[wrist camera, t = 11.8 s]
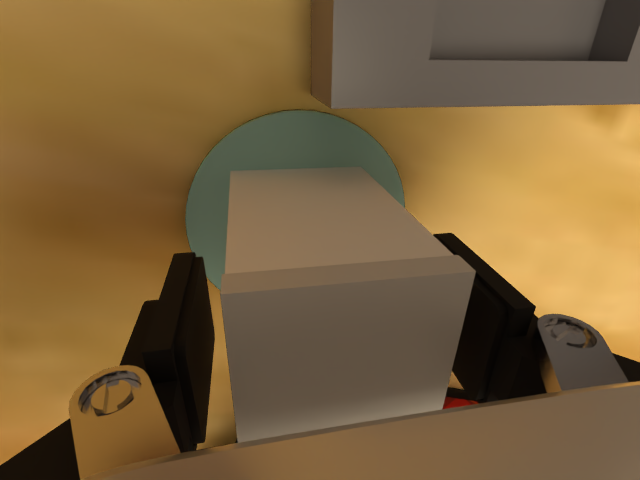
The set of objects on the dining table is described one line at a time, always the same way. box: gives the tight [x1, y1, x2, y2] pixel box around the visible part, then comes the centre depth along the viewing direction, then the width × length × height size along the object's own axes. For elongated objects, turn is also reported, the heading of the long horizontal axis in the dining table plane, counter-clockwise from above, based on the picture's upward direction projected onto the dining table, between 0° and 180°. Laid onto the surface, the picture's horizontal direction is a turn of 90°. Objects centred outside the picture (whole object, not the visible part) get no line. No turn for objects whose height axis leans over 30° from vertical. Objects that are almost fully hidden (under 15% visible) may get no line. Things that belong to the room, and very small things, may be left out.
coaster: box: [185, 110, 405, 291], centre depth 16 cm, size 9×9×1 cm
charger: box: [220, 167, 476, 443], centre depth 12 cm, size 5×5×8 cm
